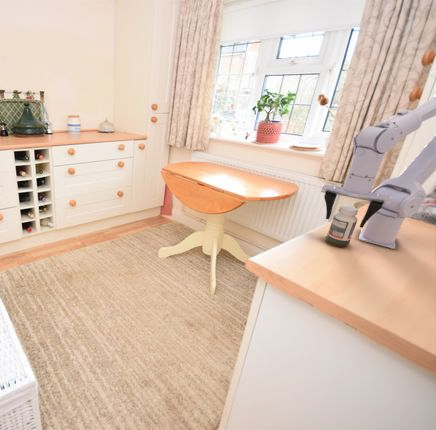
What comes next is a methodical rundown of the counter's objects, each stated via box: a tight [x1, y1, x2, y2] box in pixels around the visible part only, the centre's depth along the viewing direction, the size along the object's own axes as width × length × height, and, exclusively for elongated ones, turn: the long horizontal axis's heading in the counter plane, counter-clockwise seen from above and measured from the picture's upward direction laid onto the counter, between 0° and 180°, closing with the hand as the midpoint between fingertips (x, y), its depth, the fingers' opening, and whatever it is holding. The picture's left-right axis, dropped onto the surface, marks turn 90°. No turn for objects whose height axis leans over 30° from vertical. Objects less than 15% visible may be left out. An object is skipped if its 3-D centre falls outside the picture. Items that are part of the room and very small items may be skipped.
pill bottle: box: [327, 205, 359, 241], centre depth 81 cm, size 5×5×9 cm
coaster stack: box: [324, 232, 351, 249], centre depth 83 cm, size 6×6×2 cm
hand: (344, 222), depth 81 cm, fingers open, 7 cm apart
